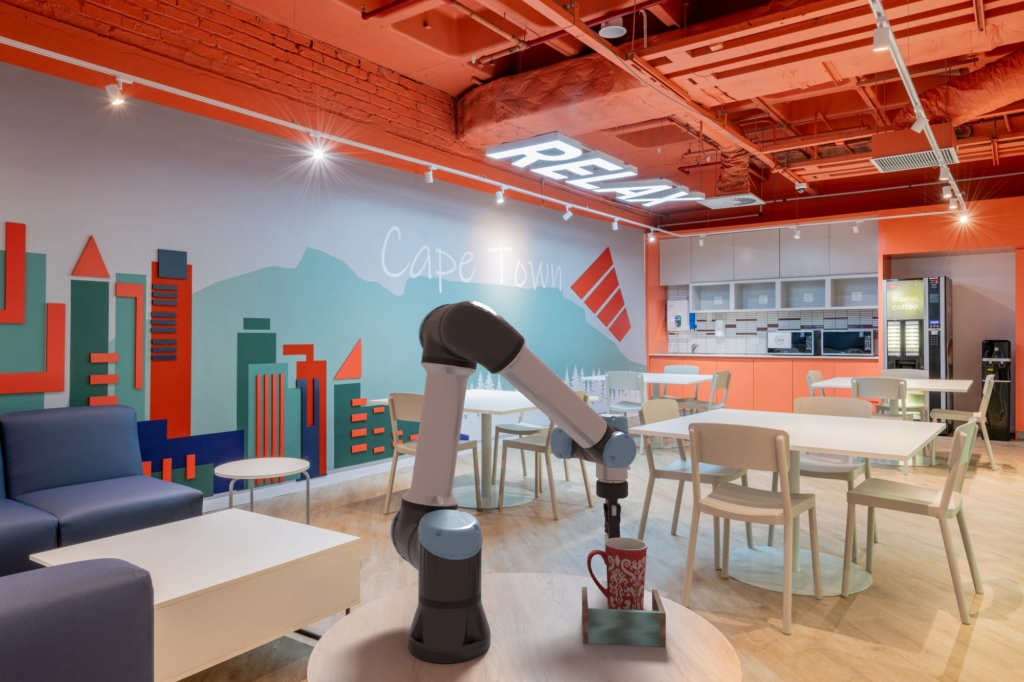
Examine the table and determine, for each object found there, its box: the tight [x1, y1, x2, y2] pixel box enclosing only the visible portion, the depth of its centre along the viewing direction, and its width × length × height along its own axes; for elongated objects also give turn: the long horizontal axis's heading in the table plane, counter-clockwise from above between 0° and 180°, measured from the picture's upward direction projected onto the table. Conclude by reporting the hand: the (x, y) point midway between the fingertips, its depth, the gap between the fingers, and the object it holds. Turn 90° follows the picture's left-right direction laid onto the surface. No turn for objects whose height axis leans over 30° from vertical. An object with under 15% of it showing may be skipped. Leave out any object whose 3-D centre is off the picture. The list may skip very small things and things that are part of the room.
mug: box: [586, 537, 649, 610], centre depth 135 cm, size 13×9×14 cm
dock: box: [581, 586, 667, 648], centre depth 123 cm, size 15×12×6 cm
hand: (612, 570), depth 152 cm, fingers open, 13 cm apart
